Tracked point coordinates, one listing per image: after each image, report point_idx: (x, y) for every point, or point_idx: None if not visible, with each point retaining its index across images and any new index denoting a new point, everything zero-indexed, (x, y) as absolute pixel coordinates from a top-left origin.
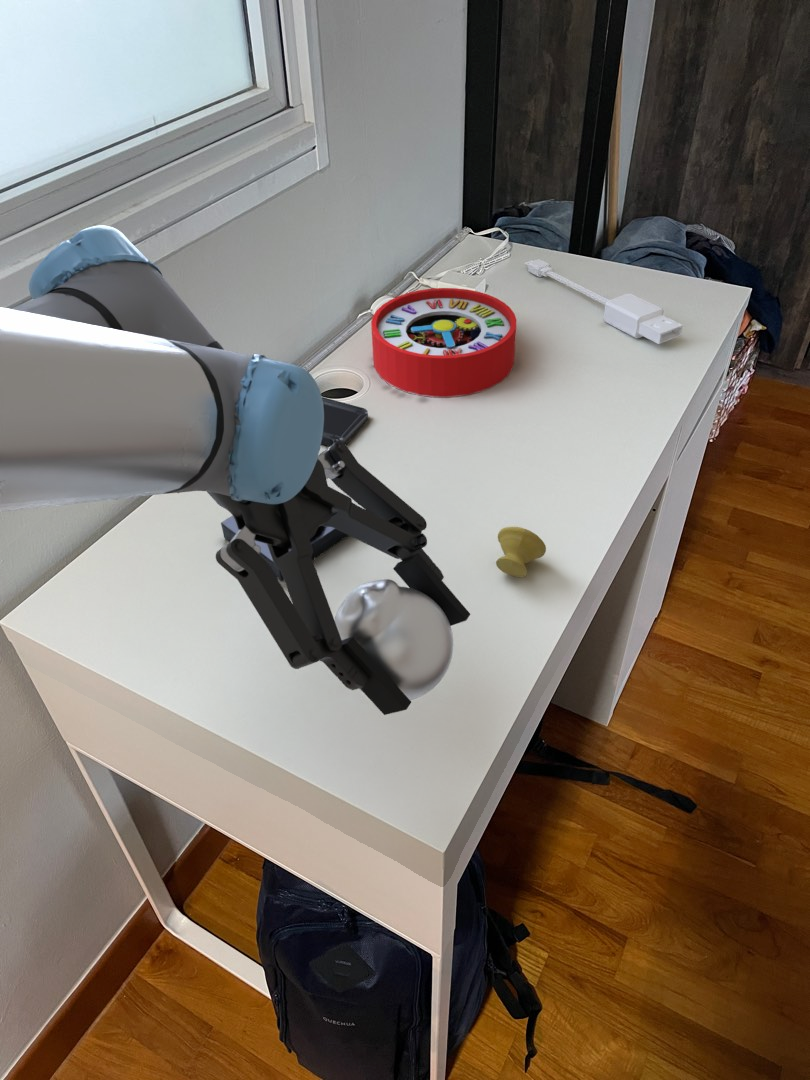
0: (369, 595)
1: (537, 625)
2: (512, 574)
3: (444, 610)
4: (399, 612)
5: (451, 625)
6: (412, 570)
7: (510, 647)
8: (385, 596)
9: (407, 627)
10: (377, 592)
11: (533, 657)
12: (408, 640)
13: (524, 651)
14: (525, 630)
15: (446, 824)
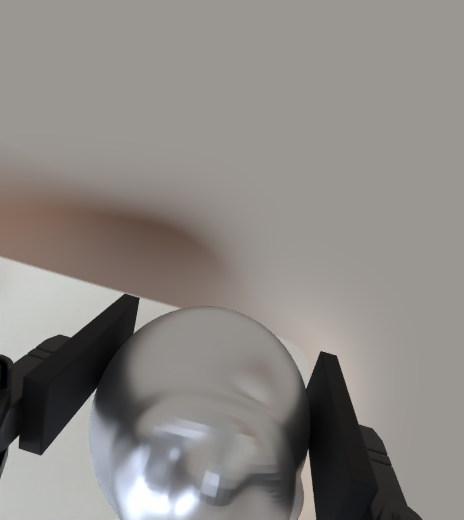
0: (223, 471)
1: (33, 289)
2: None
3: (122, 335)
4: (225, 383)
5: (133, 331)
6: (62, 394)
7: (67, 314)
8: (212, 421)
9: (248, 360)
10: (204, 449)
11: (82, 289)
12: (268, 356)
13: (73, 299)
14: (40, 301)
15: (293, 346)
